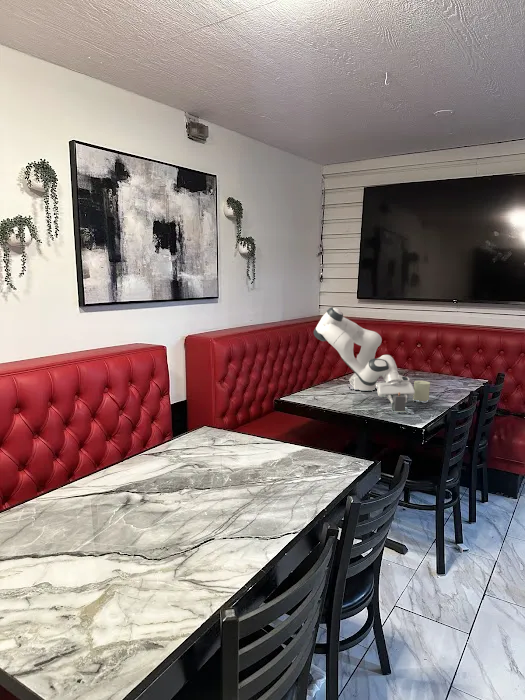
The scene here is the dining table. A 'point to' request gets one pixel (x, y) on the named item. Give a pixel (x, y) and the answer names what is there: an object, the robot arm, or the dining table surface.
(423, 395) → the can
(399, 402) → the block
